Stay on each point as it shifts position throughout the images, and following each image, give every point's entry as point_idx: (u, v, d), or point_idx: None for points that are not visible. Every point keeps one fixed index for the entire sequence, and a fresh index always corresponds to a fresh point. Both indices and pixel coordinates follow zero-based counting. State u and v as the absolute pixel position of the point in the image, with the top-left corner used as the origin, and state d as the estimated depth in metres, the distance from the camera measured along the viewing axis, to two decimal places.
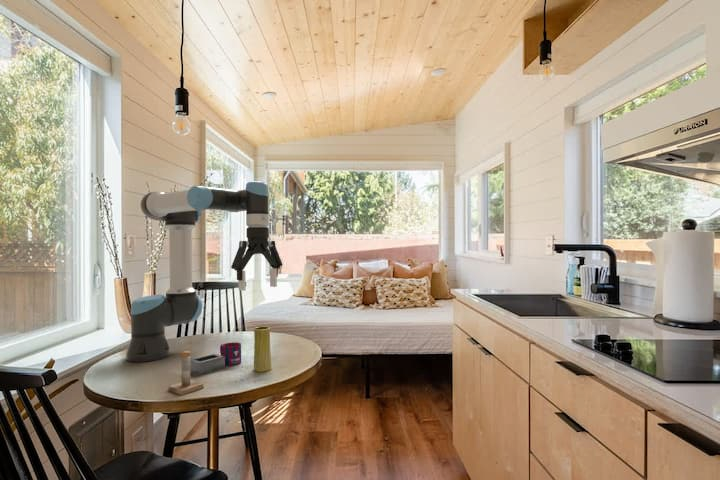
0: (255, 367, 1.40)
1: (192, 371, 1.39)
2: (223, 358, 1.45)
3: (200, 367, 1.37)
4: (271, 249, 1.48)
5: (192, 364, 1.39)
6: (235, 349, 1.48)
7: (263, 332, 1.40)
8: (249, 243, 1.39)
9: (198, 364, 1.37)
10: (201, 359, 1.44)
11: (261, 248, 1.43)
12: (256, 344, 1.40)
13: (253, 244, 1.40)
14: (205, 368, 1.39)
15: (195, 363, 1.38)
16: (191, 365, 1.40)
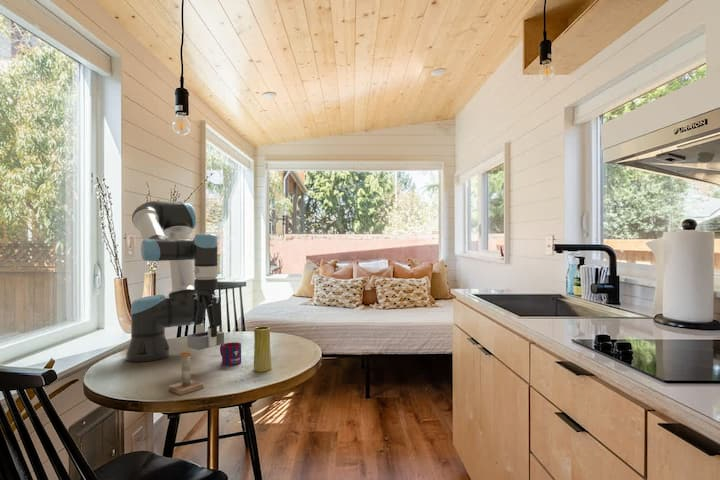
0: (255, 367, 1.40)
1: (191, 346, 1.40)
2: (222, 334, 1.45)
3: (199, 342, 1.38)
4: None
5: (191, 339, 1.40)
6: (235, 349, 1.48)
7: (263, 332, 1.40)
8: None
9: (197, 339, 1.38)
10: (200, 335, 1.44)
11: None
12: (256, 344, 1.40)
13: (198, 294, 1.44)
14: (204, 343, 1.39)
15: (194, 338, 1.39)
16: (190, 340, 1.40)
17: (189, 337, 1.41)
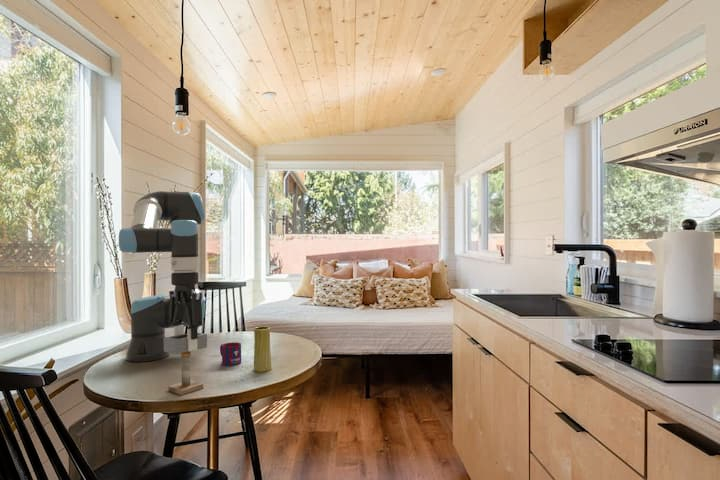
0: (255, 367, 1.40)
1: (168, 350, 1.20)
2: (205, 336, 1.25)
3: (177, 345, 1.18)
4: None
5: (168, 342, 1.20)
6: (235, 349, 1.48)
7: (263, 332, 1.40)
8: None
9: (174, 342, 1.18)
10: (179, 337, 1.24)
11: None
12: (256, 344, 1.40)
13: None
14: (183, 346, 1.20)
15: (171, 341, 1.19)
16: (167, 343, 1.20)
17: (165, 340, 1.21)
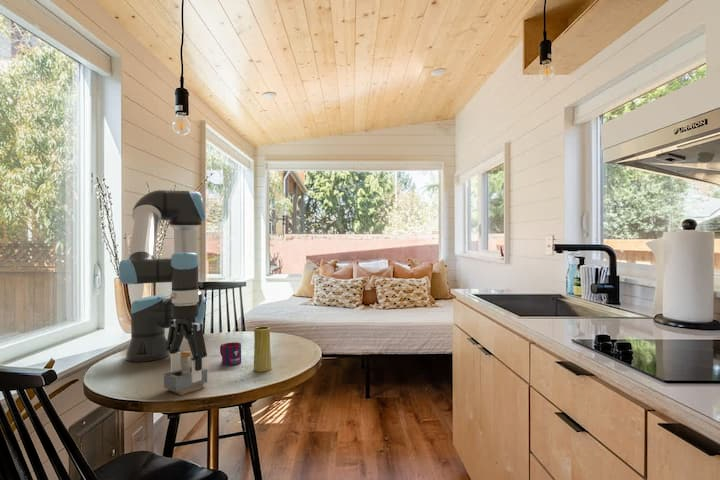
0: (255, 367, 1.40)
1: (168, 387, 1.20)
2: (205, 371, 1.25)
3: (177, 383, 1.18)
4: None
5: (168, 379, 1.20)
6: (235, 349, 1.48)
7: (263, 332, 1.40)
8: None
9: (175, 379, 1.18)
10: (179, 373, 1.24)
11: None
12: (256, 344, 1.40)
13: (177, 323, 1.25)
14: (183, 383, 1.20)
15: (171, 378, 1.19)
16: (167, 380, 1.20)
17: (166, 376, 1.21)
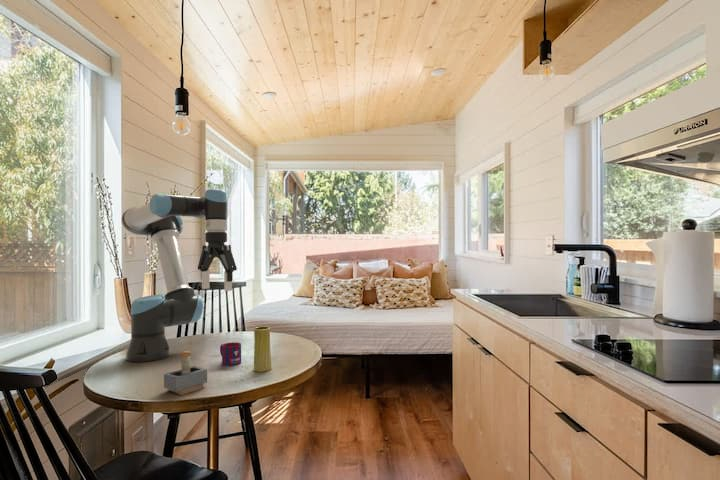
0: (255, 367, 1.40)
1: (168, 387, 1.20)
2: (205, 371, 1.25)
3: (177, 383, 1.18)
4: None
5: (168, 379, 1.20)
6: (235, 349, 1.48)
7: (263, 332, 1.40)
8: None
9: (175, 379, 1.18)
10: (179, 373, 1.24)
11: None
12: (256, 344, 1.40)
13: None
14: (183, 383, 1.20)
15: (171, 378, 1.19)
16: (167, 380, 1.20)
17: (166, 376, 1.21)
